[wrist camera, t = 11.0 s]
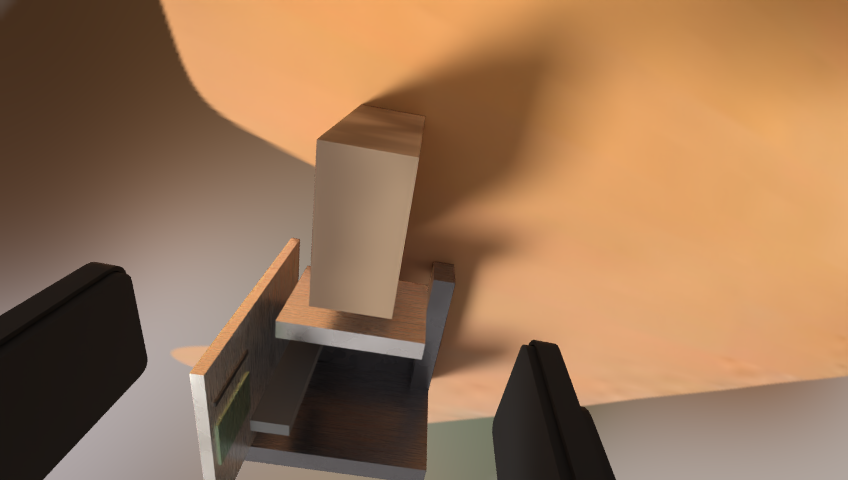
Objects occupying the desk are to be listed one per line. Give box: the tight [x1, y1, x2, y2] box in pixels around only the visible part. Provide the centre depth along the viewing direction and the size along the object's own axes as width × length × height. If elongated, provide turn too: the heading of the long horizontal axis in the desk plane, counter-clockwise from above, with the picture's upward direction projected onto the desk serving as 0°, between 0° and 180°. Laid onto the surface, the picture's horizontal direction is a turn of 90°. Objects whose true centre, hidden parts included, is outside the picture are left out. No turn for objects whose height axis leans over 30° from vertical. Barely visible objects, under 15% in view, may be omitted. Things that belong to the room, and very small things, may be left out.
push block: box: [309, 105, 425, 319], centre depth 21 cm, size 4×8×10 cm, turn 170°
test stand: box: [189, 238, 455, 480], centre depth 25 cm, size 12×12×13 cm
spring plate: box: [275, 266, 427, 360], centre depth 25 cm, size 8×3×6 cm, turn 80°
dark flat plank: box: [250, 340, 323, 436], centre depth 25 cm, size 2×1×10 cm, turn 80°
